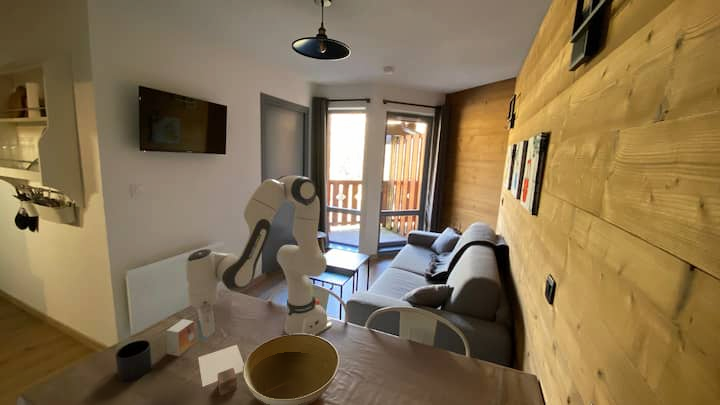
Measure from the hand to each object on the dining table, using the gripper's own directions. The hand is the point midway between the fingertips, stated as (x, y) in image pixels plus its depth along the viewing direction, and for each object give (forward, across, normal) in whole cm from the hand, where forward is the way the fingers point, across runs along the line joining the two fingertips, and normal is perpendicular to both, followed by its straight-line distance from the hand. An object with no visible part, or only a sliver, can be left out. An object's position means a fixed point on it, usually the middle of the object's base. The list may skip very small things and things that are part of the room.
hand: (206, 330), depth 97 cm
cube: (+2, 0, 0) cm, 2 cm away
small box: (+16, +17, +8) cm, 25 cm away
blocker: (+16, -12, -4) cm, 21 cm away
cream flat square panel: (+16, 0, -4) cm, 16 cm away
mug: (+15, +13, +23) cm, 31 cm away
